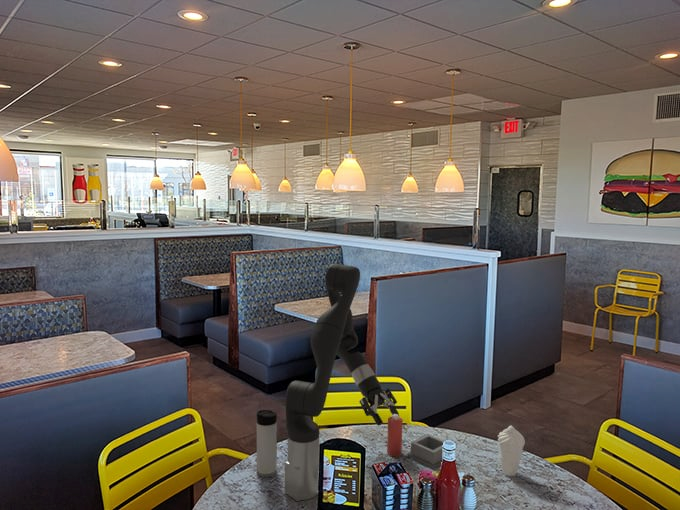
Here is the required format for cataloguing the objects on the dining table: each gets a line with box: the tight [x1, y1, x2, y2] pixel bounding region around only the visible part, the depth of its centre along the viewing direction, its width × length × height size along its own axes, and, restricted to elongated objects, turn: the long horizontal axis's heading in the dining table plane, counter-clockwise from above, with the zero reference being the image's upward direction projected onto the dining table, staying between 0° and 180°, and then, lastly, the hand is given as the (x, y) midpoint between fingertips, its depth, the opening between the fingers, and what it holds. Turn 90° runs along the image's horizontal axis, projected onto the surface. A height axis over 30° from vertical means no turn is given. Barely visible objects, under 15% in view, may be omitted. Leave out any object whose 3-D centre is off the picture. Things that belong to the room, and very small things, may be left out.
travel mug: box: [256, 409, 278, 478], centre depth 157 cm, size 6×7×20 cm
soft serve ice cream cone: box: [497, 425, 526, 477], centre depth 159 cm, size 8×8×16 cm
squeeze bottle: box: [386, 414, 404, 457], centre depth 171 cm, size 5×5×14 cm
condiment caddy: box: [406, 433, 445, 470], centre depth 169 cm, size 11×11×5 cm
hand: (389, 420), depth 172 cm, fingers open, 8 cm apart
